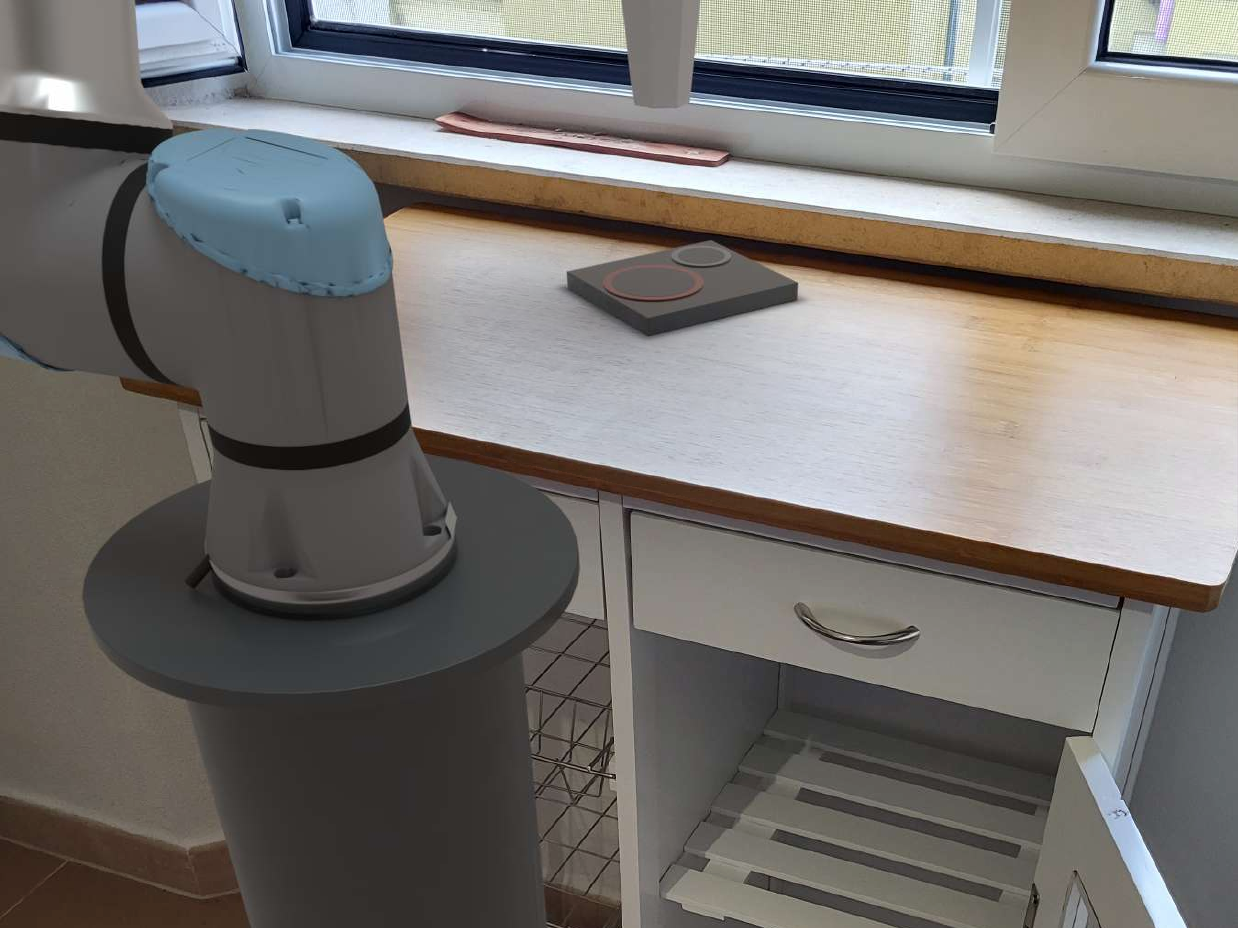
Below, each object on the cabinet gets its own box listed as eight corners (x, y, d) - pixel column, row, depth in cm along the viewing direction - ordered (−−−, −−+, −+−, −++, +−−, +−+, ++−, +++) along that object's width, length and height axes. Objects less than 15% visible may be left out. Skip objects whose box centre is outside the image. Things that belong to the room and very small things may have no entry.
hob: (648, 336, 121) (647, 316, 120) (567, 288, 130) (566, 269, 129) (797, 299, 128) (798, 281, 127) (711, 256, 137) (711, 238, 135)
